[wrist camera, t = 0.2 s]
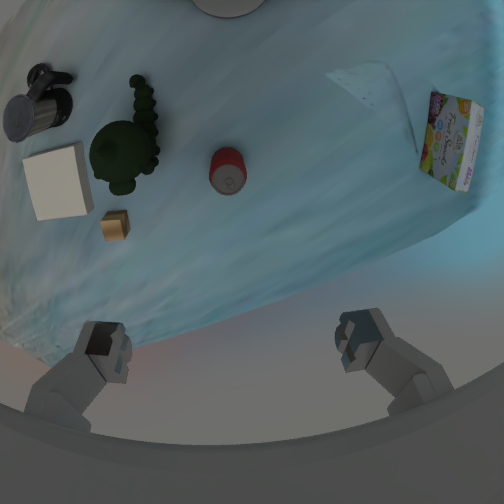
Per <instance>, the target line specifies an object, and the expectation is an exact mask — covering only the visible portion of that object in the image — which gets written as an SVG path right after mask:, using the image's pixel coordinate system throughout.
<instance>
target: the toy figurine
mask: <svg viewBox="0 0 504 504" xmlns="http://www.w3.org/2000/svg"><path fill="white" fill-rule="evenodd" d="M129 84H130V87H131V88H133V87H134V88H135V92H134V97H135V101H134V105H133V107H134V110H135V111H136V112H135V114H134V116H133V121H134V123H133V122H130V121H124V120H121V121H115V122H111V123H109V124H107V125H106V126H104V127H103V128H102V129H101V130H100V131H99V132H98V133H97V134H96V136H95V137H94V139H93V141H92V144H91V147H90V153H89V159H90V163H91V166H92V169H93V171H94V176H95V178H96V179H102V180H104V181H107V182H110V183H109V189H110V192H111V193H113V194H114V195H117V196H120V195H127V194H130V193H132V192H133V191H134V190H135V187H136V181H135V179H134V178H135V177H137V176H138V175H139V174H140V173H143V174H145V175H149V174H151V173H152V172H153V171H154V168H155V167H156V166H157V165H158V163H159V160H158V158H157V157H155V156H157V155H158V154H159V153H160V148H159V147H158V146H156V140H155V136H157V135H158V130H157V129H156V127H155V125H154V123H153V122H154V120H156V119H157V118H158V115H157V114H155V113H154V112H153V111H152V110H151V109H152V108H153V106H154V105H155V104H156V101H155V100H153V99H152V98H151V97H150V96H151V94H153V89H152V88H150V87H149V86H147V85H145V79H144V77H143V76H141V75H138V74H136V75H133V76H132V77H131V78H130V81H129Z"/></svg>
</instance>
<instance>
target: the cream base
mask: <svg viewBox="0 0 504 504" xmlns="http://www.w3.org/2000/svg"><path fill="white" fill-rule="evenodd" d="M23 165H24V170H25V174H26V179H27V183H28V187H29V191H30V195H31V199H32V203H33V207H34V210H35V213H36V217H37V220H38V221H39V220H47V219H54V218H63V217H71V216H80V215H87V214H88V213H89V212H90V211H91V210H92V209H93V208H94V205H93V201H92V196H91V191H90V187H89V181H88V176H87V171H86V165H85V159H84V152H83V145H82V142H79V143H75V144H70V145H66V146H62V147H58V148H54V149H51V150H47V151H43V152H40V153H36V154H33V155H31V156H29V157H27V158H25V159H23Z"/></svg>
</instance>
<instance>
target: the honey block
mask: <svg viewBox="0 0 504 504" xmlns="http://www.w3.org/2000/svg"><path fill="white" fill-rule="evenodd" d="M100 223H101V226H102V230H103V234H104V238H105V241H111V240H125V238H126V236H127V234H128V232H129V231H130V225H129V220H128V215H127V210H120V211H109V212H107V213H106V214H105V216H104V217H103V218H102V220H101V221H100Z"/></svg>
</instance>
